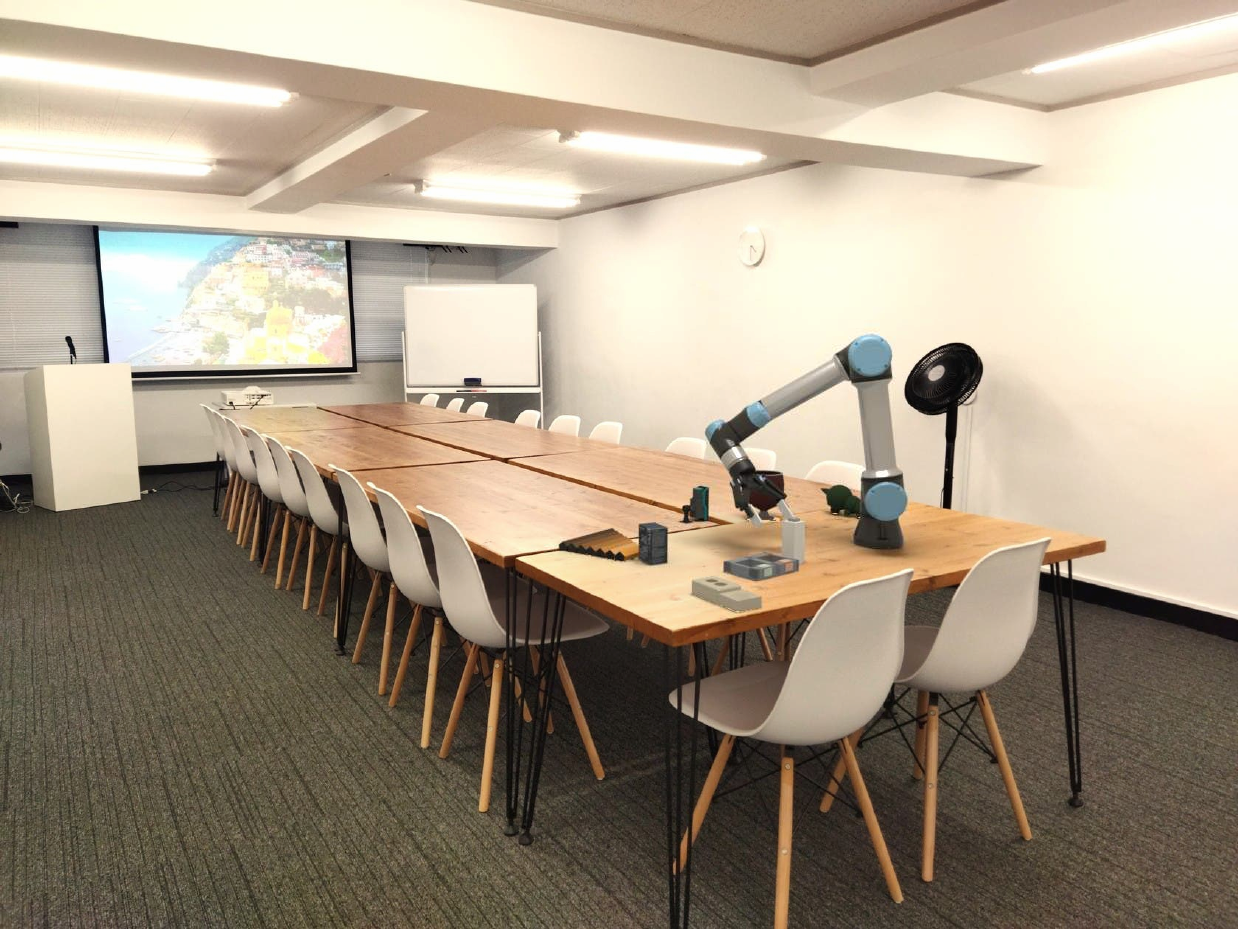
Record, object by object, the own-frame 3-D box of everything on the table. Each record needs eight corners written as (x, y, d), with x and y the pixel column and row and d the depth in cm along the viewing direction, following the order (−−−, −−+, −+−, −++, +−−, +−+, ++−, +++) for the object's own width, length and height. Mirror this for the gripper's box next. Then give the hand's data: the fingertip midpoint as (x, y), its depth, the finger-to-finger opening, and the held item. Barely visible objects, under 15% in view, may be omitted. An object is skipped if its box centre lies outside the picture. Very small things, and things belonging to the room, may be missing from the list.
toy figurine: (886, 523, 308) (824, 508, 324) (893, 471, 304) (830, 459, 320) (875, 527, 301) (812, 512, 317) (882, 474, 297) (817, 461, 313)
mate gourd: (776, 516, 312) (777, 461, 310) (788, 523, 299) (790, 466, 296) (734, 517, 310) (736, 462, 308) (745, 524, 297) (746, 467, 294)
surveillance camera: (677, 487, 301) (699, 485, 306) (677, 521, 302) (699, 518, 308) (687, 489, 296) (709, 487, 302) (687, 524, 298) (709, 521, 303)
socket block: (765, 562, 243) (765, 551, 243) (799, 570, 234) (799, 559, 234) (723, 572, 233) (723, 560, 232) (757, 581, 223) (757, 569, 223)
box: (637, 559, 247) (638, 523, 245) (655, 557, 249) (655, 521, 248) (650, 565, 240) (650, 528, 238) (668, 563, 242) (668, 526, 241)
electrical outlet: (737, 597, 196) (691, 579, 211) (737, 614, 197) (691, 595, 212) (761, 592, 200) (714, 575, 215) (761, 609, 200) (714, 591, 216)
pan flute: (608, 537, 279) (558, 551, 259) (608, 527, 278) (558, 540, 258) (672, 547, 264) (624, 563, 244) (672, 537, 263) (624, 552, 244)
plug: (791, 559, 246) (792, 516, 245) (804, 562, 243) (805, 518, 241) (781, 562, 244) (782, 518, 242) (793, 565, 240) (795, 520, 238)
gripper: (760, 469, 266) (796, 525, 256) (702, 476, 250) (738, 536, 240) (773, 454, 261) (811, 510, 251) (715, 460, 245) (753, 520, 236)
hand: (775, 523), depth 246 cm, fingers open, 13 cm apart
